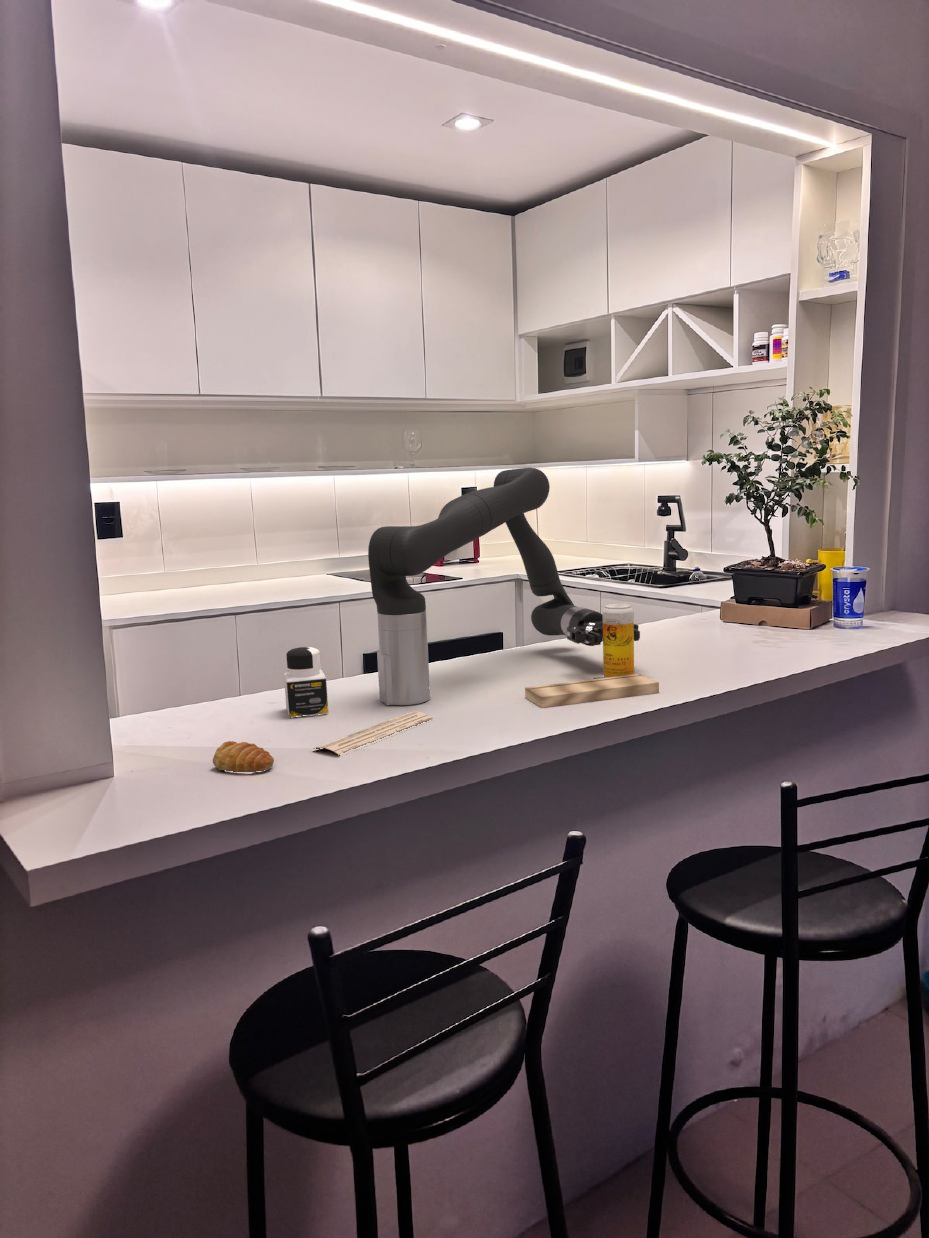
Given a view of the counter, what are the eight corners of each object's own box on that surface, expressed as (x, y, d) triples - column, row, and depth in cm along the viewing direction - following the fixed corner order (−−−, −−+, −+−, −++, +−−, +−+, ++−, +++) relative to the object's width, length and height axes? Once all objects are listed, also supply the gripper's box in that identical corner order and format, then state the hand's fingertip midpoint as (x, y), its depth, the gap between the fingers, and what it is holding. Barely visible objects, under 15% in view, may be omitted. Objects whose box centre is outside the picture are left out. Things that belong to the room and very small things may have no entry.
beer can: (599, 681, 177) (598, 607, 175) (609, 674, 182) (608, 602, 180) (628, 683, 174) (627, 608, 172) (638, 676, 180) (637, 603, 177)
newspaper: (339, 761, 137) (338, 750, 137) (307, 754, 141) (306, 744, 141) (433, 723, 156) (432, 713, 155) (402, 718, 160) (401, 709, 160)
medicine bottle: (289, 718, 160) (284, 654, 158) (286, 709, 167) (281, 647, 165) (328, 714, 162) (324, 650, 160) (324, 705, 169) (320, 643, 167)
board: (541, 707, 160) (541, 696, 160) (525, 697, 168) (525, 687, 168) (658, 692, 168) (658, 681, 167) (638, 683, 175) (638, 673, 175)
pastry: (285, 766, 135) (283, 742, 134) (254, 780, 129) (252, 755, 128) (239, 758, 139) (237, 735, 138) (207, 772, 133) (205, 747, 133)
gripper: (553, 611, 190) (585, 622, 174) (613, 605, 194) (650, 616, 178) (554, 645, 191) (586, 660, 176) (613, 639, 195) (650, 652, 180)
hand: (618, 637), depth 177 cm, fingers open, 8 cm apart
